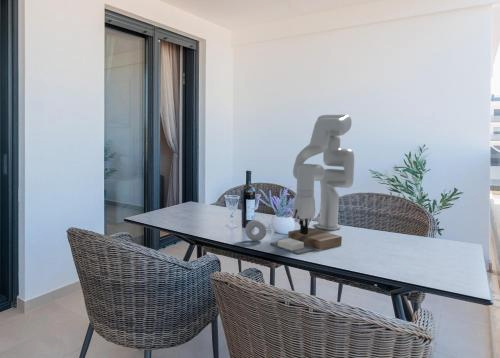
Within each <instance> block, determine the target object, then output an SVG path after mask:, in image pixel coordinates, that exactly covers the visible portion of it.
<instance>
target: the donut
mask: <svg viewBox="0 0 500 358" xmlns="http://www.w3.org/2000/svg"><path fill="white" fill-rule="evenodd" d="M254 228H257V229H258V230H259V231H258V232H257V233H254V232H253V229H254ZM244 229H245V230H244V231H245V235H246V237H247V238H248V239H249V240H250V241H253V242H259V241H262V240H263V239H264V238H265V237H266V235H267V227H266V224H265V223H264V222H263V221H261V220H259V219H252V220H250V221H248V223H246V225H245V227H244Z"/></svg>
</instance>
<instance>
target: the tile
mask: <svg viewBox="0 0 500 358" xmlns="http://www.w3.org/2000/svg"><path fill="white" fill-rule="evenodd" d="M277 242H278V246H280V247H283V248H286V249H289V250H291V251H293V250H297V249H301V248H304V242H301V241H298V240H294V239H291V238H288V237H287V238H284V239H279V240H277Z"/></svg>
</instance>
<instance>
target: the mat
mask: <svg viewBox="0 0 500 358" xmlns="http://www.w3.org/2000/svg"><path fill="white" fill-rule="evenodd" d="M269 244H270V245H271V246H274V247H276V248H279V249H281V250H285V251H288V252H290V253H292V254H295V255H302V254H306V253H310V252H315V251H317V250H318V249H316V248H313V247H310V246H307V245H304V248H301V249H297V250H293V251H291V250H289V249H286V248H283V247H280V246H278V241H274V242H269Z"/></svg>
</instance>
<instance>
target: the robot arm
mask: <svg viewBox="0 0 500 358" xmlns="http://www.w3.org/2000/svg"><path fill="white" fill-rule="evenodd" d="M351 127H352V118H351V116H350V115H348V114H323V115H319V116H318V117H317V119H316V120H315V123H314V126H313V129H312V130H313V131H312V134H311V137H310V141H309V143H308V145H306V146H305V147H304V148H303V149H301V150H300V151H299V153H298V154H297V155H296V158H295V161H294V165H293V169H292V174H293V175H292V176H293V177H294V179H296V196H295V197H294V199H293V200H294V201H293V207H292V219H294V222H296V223H298V224H299V226H300V227H299V229H300V233H301V234H304V235H306V234H308V228H309V225H310V222H311V221H313V220H314V221H315V222H317V224H316V228H318V229H320V230H325V231H326V230H329V231H333V230H334V231H336V230H340V229H341V225H340V224H339V202H340V201H339V200H340V197H339V192H338V191H337V189H336V188H340V189H341V188H344V189H349V188H352V186H353V184H354V175H355V174H354V173H355V153H354V151H353V150H352V149H350V148H341V137H340V136H343V135H346V134H347V133H348V132H349V131H350V130H351ZM322 153H323V154H322ZM319 154H322V155H323V157H322V159H323V161H322V162H323V164H324V165H325V166H328V167H338V168H339V169H338V168H324V166H322V165H321V164H318V163H317V164H316V163H315V164H313V163H305V162H306V161H307V160H308V159H309V158H312V157H314V156H317V155H319ZM342 168H343V169H342ZM315 182H319V184H320V203H319V204H320V205H319V216H316V200H315V196H314V195H315V194H314V193H315ZM315 216H316V218H314V217H315Z"/></svg>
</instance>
